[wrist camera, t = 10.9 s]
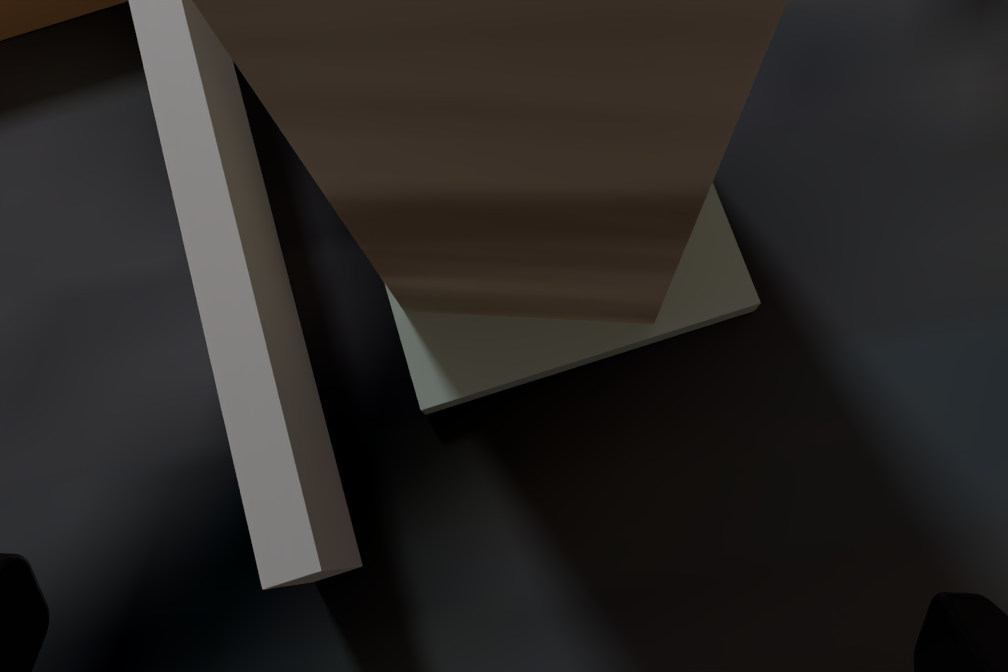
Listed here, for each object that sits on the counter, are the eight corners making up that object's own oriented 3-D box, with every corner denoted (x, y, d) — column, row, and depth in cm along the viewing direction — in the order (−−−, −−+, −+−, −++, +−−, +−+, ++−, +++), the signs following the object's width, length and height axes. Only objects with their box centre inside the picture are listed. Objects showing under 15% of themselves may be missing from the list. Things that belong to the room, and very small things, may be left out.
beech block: (653, 323, 17) (907, -288, 5) (403, 311, 18) (-3, -283, 5) (661, 93, 18) (878, -906, 6) (426, 86, 19) (143, -862, 6)
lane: (362, 566, 17) (321, 570, 14) (-128, 721, 17) (-272, 758, 14) (215, -7, 20) (157, -99, 17) (-197, 121, 20) (-324, 50, 17)
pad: (753, 311, 18) (760, 302, 17) (425, 414, 18) (420, 410, 17) (640, 22, 19) (642, 6, 19) (340, 116, 19) (333, 103, 19)
